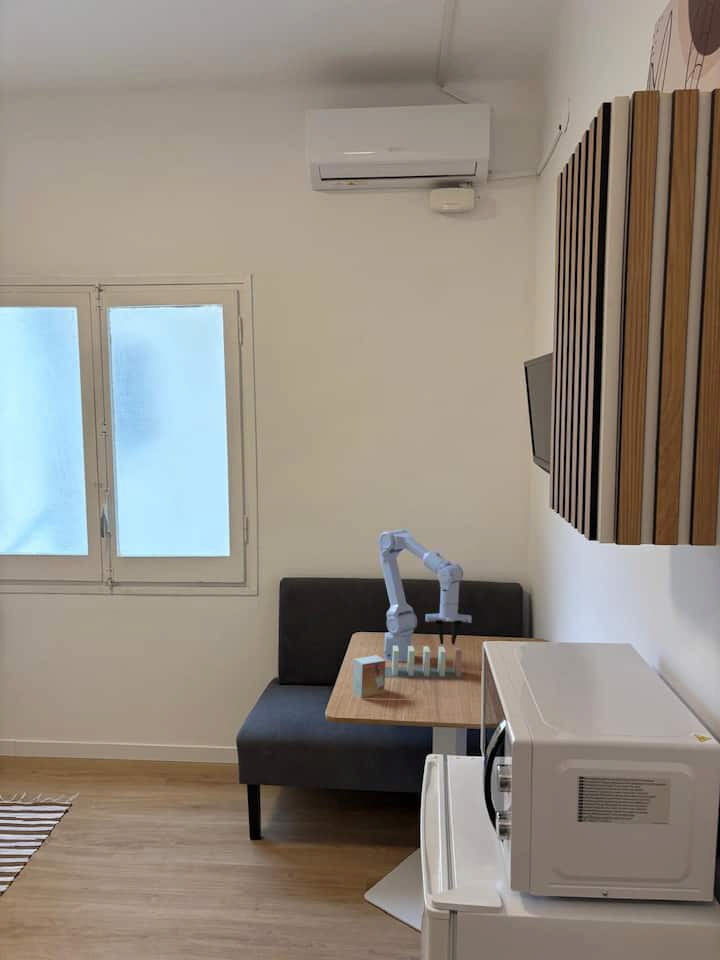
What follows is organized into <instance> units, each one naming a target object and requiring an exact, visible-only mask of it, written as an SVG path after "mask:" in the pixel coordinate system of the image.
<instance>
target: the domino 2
mask: <svg viewBox="0 0 720 960" xmlns="http://www.w3.org/2000/svg"><path fill="white" fill-rule="evenodd" d="M406 663H407V665H406V667H407V671H408V675H409V676H414V668H415V648H414V645H412V646H408V662H406Z"/></svg>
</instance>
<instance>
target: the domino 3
mask: <svg viewBox="0 0 720 960" xmlns="http://www.w3.org/2000/svg"><path fill="white" fill-rule="evenodd" d="M430 664H431V650H430V647H429V645H425V646H424V645H423V649H422V668H423V673H424V676H429V671H430V668H431V667H430V666H431V665H430Z"/></svg>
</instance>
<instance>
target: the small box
mask: <svg viewBox="0 0 720 960" xmlns="http://www.w3.org/2000/svg"><path fill="white" fill-rule="evenodd" d="M385 667H386V661H385V659H383V658H382V657H381V656H379V655H377V654H375V655H370V656H365V657H355V658H354V659H353V679H352V680H353V683H352V692H354V693H355V694H356V695H357V696H358V697H359V698H360V699H364V698H368V697H374V696H378V695H379V696H380V695H383V694H385V684H386V678H385Z"/></svg>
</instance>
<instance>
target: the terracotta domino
mask: <svg viewBox="0 0 720 960" xmlns="http://www.w3.org/2000/svg"><path fill="white" fill-rule="evenodd" d="M462 658H463V652H462V649H461V647H460V646H454V647H453V671H454V674H455V676H456V677H461V670H462V660H463V659H462Z"/></svg>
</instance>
